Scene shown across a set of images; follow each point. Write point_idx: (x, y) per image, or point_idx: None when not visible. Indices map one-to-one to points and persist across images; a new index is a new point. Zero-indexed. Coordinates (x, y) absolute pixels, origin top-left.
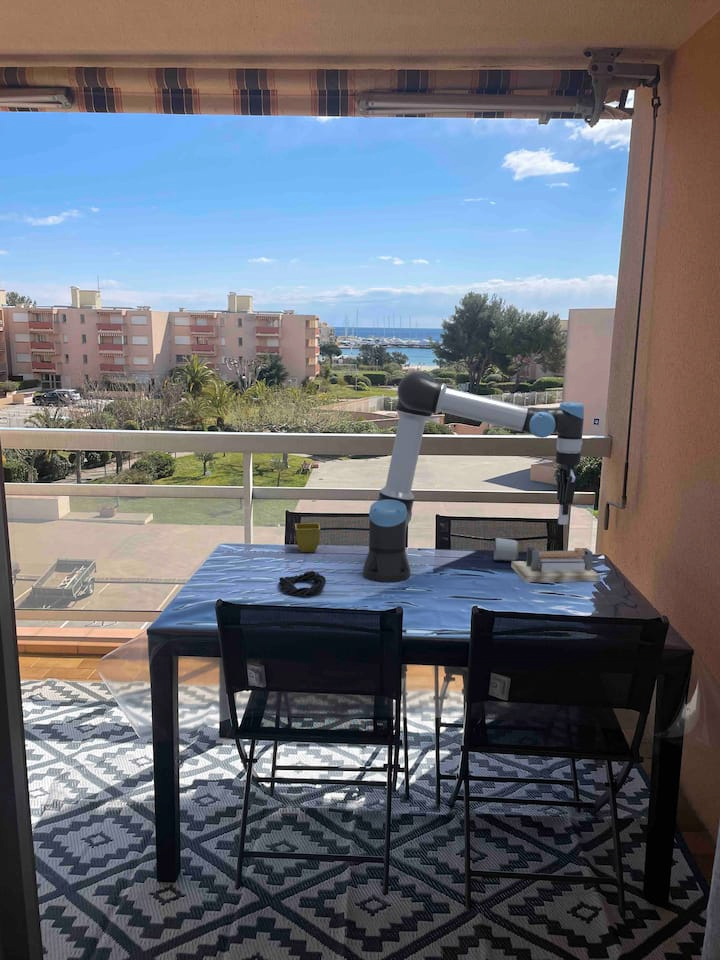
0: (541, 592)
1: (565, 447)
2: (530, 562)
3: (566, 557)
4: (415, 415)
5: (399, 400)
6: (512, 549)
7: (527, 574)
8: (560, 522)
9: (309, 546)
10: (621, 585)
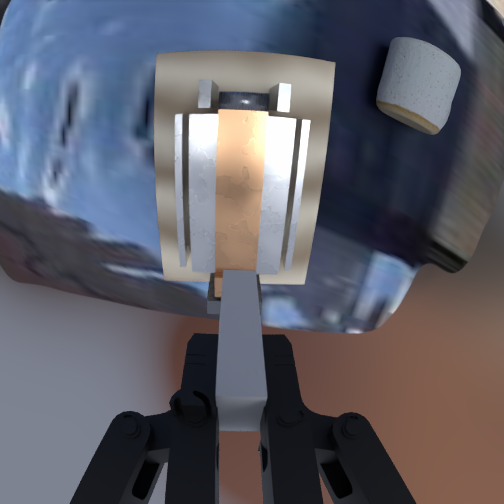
0: (75, 89)
1: None
2: (270, 100)
3: None
4: None
5: None
6: (391, 86)
7: (171, 62)
8: (223, 282)
9: None
10: (144, 303)
